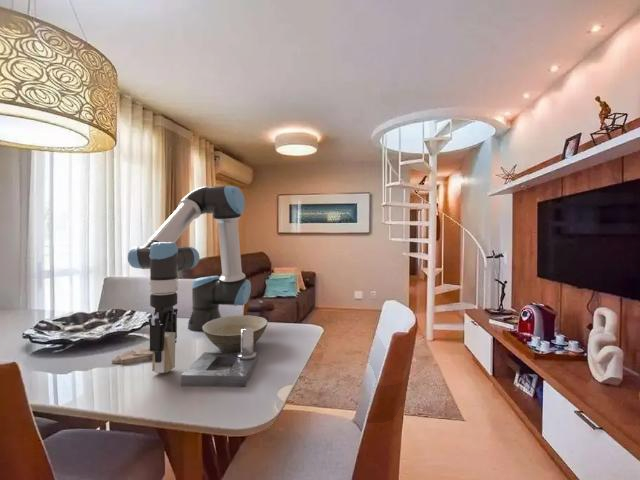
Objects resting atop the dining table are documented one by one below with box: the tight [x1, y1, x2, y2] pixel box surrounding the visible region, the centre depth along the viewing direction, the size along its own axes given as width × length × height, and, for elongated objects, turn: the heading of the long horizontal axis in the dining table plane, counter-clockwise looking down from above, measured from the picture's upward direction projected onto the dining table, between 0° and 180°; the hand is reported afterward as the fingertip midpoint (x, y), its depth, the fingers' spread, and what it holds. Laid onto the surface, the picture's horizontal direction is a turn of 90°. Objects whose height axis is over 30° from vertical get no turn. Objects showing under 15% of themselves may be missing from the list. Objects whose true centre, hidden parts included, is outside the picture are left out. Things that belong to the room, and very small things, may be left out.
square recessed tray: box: [180, 351, 259, 388], centre depth 100 cm, size 18×18×3 cm
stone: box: [111, 347, 153, 365], centre depth 111 cm, size 12×12×3 cm
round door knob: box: [237, 327, 257, 360], centre depth 106 cm, size 6×6×12 cm
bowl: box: [202, 314, 268, 353], centre depth 122 cm, size 24×24×10 cm
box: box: [151, 332, 176, 373], centre depth 99 cm, size 5×4×11 cm
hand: (164, 368), depth 99 cm, fingers closed on box, 5 cm apart
